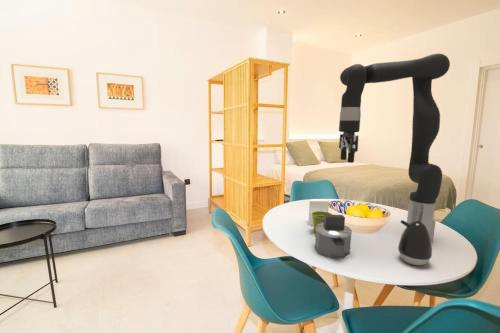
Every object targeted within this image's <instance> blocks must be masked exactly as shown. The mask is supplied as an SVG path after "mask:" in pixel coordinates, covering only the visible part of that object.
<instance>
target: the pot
mask: <svg viewBox="0 0 500 333" xmlns="http://www.w3.org/2000/svg"><path fill="white" fill-rule="evenodd" d="M351 244H352V235H351V236H349V237H347V238H331V237H327V236H324V235H321V234H320V233H318V232H317V231H316V233H315V241H314V248H315V251H316V252H317V254H319V255H320V256H321V255H322V256H323V257H326V258H328V259H345V258H346V257H348V256H349V255H350V254H351Z"/></svg>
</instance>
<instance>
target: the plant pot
mask: <svg viewBox="0 0 500 333" xmlns="http://www.w3.org/2000/svg"><path fill="white" fill-rule="evenodd" d="M324 215H334V214H332V213H331V212H329V211H328V212H324V211H315V212H312V216H313V222H314V226H313V231H314V233H315V234H316V226H317V225H318V224H320V223H324Z"/></svg>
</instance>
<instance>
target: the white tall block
mask: <svg viewBox="0 0 500 333" xmlns="http://www.w3.org/2000/svg"><path fill="white" fill-rule="evenodd" d="M329 203H330V201H329V200H328V199H318V198H317V199H309V206H308V224H309V225H310V226H312V227H314V222H313V216H312V212H315V211H324V212H329V205H330V204H329Z"/></svg>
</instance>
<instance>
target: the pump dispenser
mask: <svg viewBox="0 0 500 333" xmlns="http://www.w3.org/2000/svg"><path fill="white" fill-rule="evenodd" d="M400 223H401V224H402V225H404V226H405V229H404V231H403V232H402V234H401V236H400V239H399V243H398V247H397V250H398V252H399V255H400V257H401V259H402V260H403V261H404V262H406V263H408V264H409V265H412V266H424V265H426V264H428V263H429V261H430V259H431V258H432V255H433V247H432V246H433V245H432V243H431V238H430V235H429V232H428V229H427V227H426V226H425V225H424V224H423V223H422V222H419V221H413V222H411V223H410V224H409V223H407V221H405V220H403V219H402V220H400Z"/></svg>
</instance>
